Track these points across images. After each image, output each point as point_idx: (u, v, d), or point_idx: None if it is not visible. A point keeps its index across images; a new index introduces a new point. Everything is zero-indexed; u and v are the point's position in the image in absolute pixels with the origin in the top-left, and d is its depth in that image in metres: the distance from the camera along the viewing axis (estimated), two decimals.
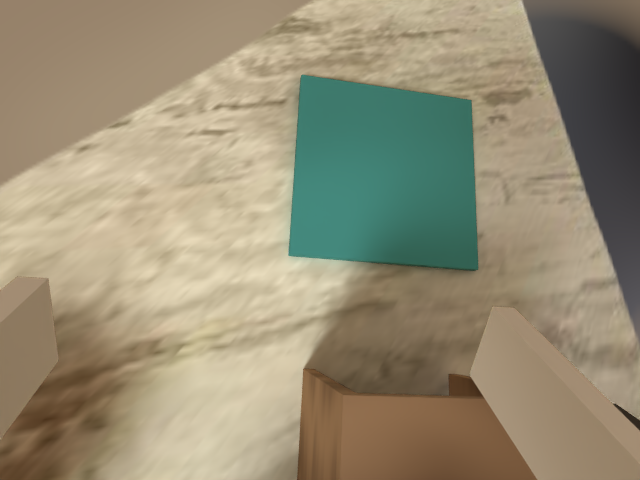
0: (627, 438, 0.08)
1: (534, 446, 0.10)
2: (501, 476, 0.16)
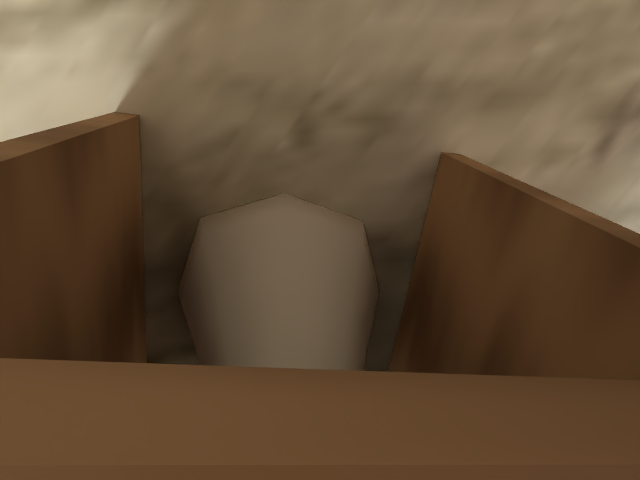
0: None
1: None
2: None
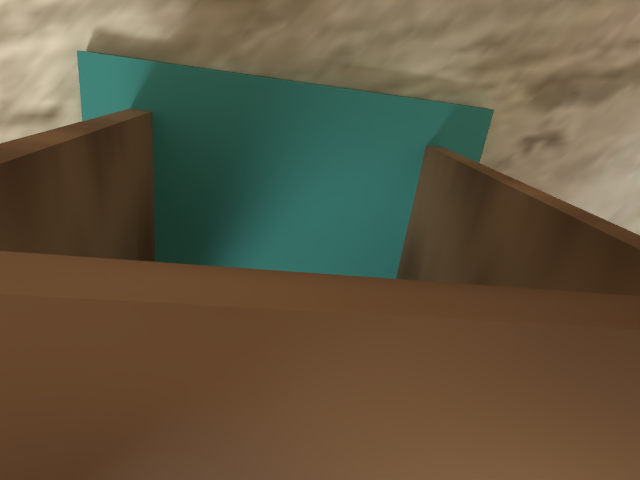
0: None
1: None
2: None
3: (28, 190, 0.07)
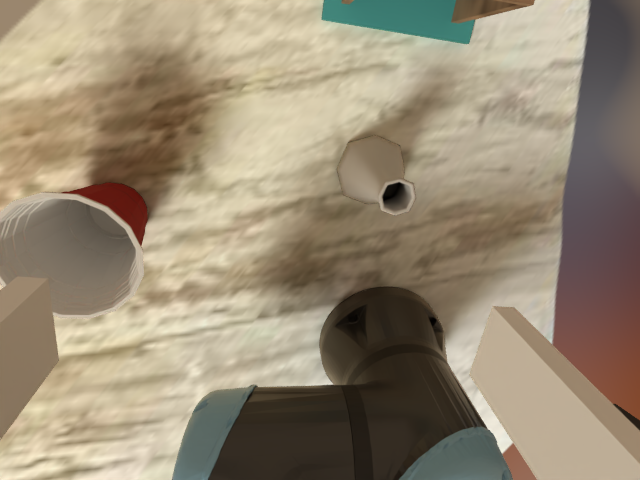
0: (627, 438, 0.08)
1: (533, 446, 0.10)
2: None
3: None
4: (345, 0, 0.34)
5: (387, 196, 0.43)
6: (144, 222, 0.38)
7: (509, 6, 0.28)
